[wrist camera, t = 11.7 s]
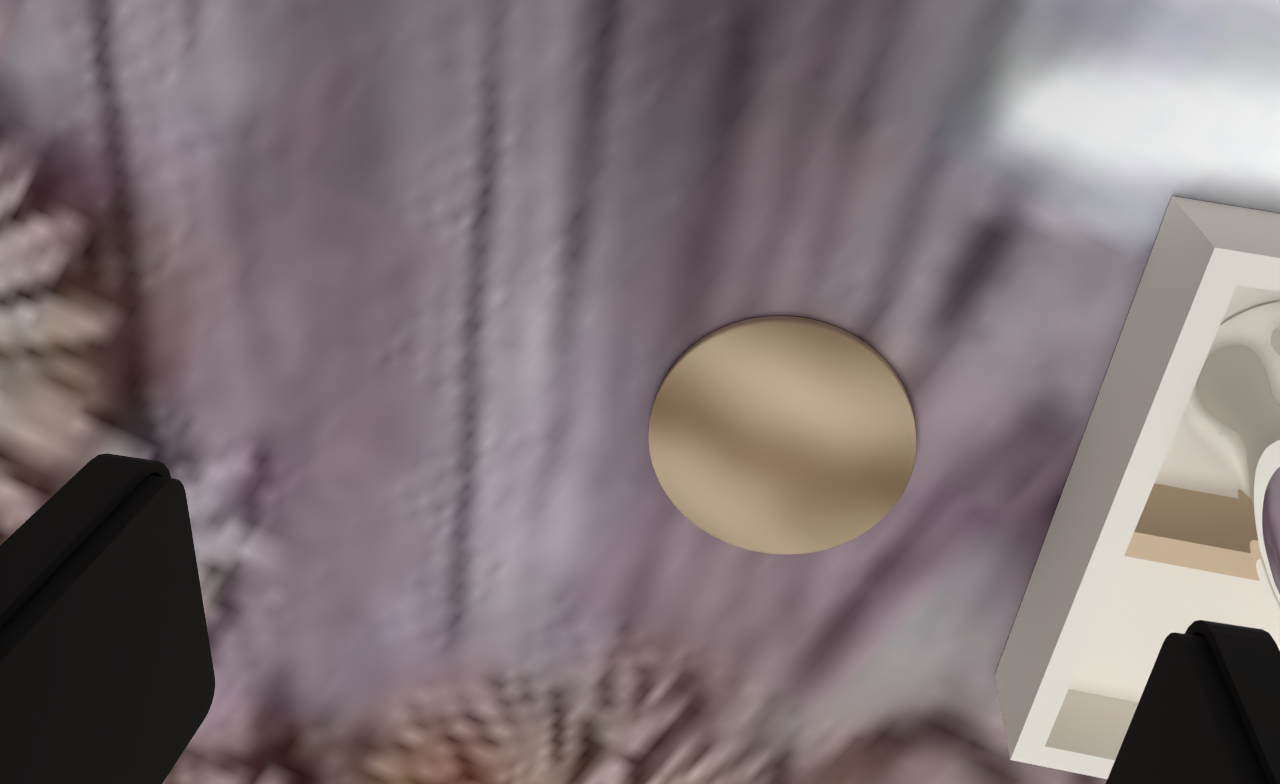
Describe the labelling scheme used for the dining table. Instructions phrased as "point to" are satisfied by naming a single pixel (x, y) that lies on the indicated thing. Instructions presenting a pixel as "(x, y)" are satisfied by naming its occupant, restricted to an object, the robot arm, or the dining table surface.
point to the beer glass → (1247, 427)
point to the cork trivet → (782, 435)
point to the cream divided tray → (1141, 506)
